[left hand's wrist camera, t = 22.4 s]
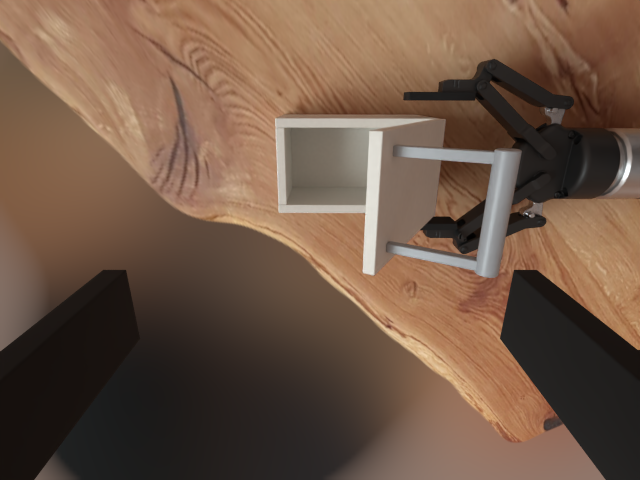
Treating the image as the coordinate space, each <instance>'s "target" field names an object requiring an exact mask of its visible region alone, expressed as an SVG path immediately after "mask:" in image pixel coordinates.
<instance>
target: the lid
mask: <svg viewBox="0 0 640 480" xmlns="http://www.w3.org/2000/svg"><path fill="white" fill-rule="evenodd" d="M445 124H446V119H433V120H427V121H421V122H415V123H410V124H404V125H398V126H392V127H387V128H381V129H375V130H370V131H369V150H368V171H367V192H366V213H365V234H364V255H363V273H365V274H370V275H375V274H376V273H377V272H378V271H379V270H380V269H381V268H382V267H383V266H384V265H385V264H386V263H387V262H388V261H389V260H390V259H391V258H392V257H393V256H394V255H395V254H397V255H402V256H407V257H412V258H417V259H422V260H427V261H431V262H436V263H441V264H446V265H451V266H456V267H461V268H465V269H470V270H475V273H476V274H478V275H480V276H483V277H488V278H493V277H497V276H498V274H499V269H500V264H501V258H502V253H503V248H504V243H505V237H506V232H507V227H508V222H509V217H510V211H511V206H512V201H513V196H514V190H515V185H516V180H517V175H518V169H519V164H520V159H521V154H522V151H521V150H519V149H512V148H497V149H495V150H494V151H491V150H475V149H459V148H443V141H444V132H445ZM441 160H445V161H457V162H470V163H483V164H492V167H491V173H490V180H489V186H488V192H487V198H486V204H485V210H484V216H483V222H482V228H481V234H480V240H479V246H478V252H477V257H472V256H467V255H461V254H456V253H451V252H446V251H440V250H435V249H430V248H425V247H419V246H414V245H409V244H406V243H407V242H408V241H409V240H410V239H411V238H412V237H413V236H414V235H415V234H416V233H417V232H418V231H419V230H420V229H421V228H422V227H423V226H424V225H425V224H426V223H427V222H428V221H429V220H430V219H431V218H432V217H433V216H434V215H435V210H436V201H437V193H438V184H439V175H440V167H441Z"/></svg>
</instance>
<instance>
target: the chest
mask: <svg viewBox="0 0 640 480" xmlns="http://www.w3.org/2000/svg"><path fill="white" fill-rule="evenodd" d="M433 119H439V118H433V117H427V116H422V115H386V114H284V115H282V116H279V117H277V118H275V126H276V151H277V177H278V204H279V213H366V192H367V171H368V150H369V131H370V130H375V129H381V128H387V127H392V126H398V125H404V124H410V123H415V122H421V121H427V120H433Z"/></svg>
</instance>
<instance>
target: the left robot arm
mask: <svg viewBox="0 0 640 480" xmlns="http://www.w3.org/2000/svg"><path fill="white" fill-rule="evenodd" d="M139 339H140V337H139V332H138V327H137V322H136V317H135V312H134V307H133V302H132V297H131V292H130V288H129V283H128V278H127V273H126V270H103V271H101V272H100V273H99V274H98V275H96V276H95V277H94V278H93V279H91V280H90V281H89V282H88V283H86V284H85V285H84V286H83V287H81V288H80V289H79V290H77V291H76V292H75V293H74V294H72V295H71V296H70V297H69V298H67V299H66V300H65V301H64V302H62V303H61V304H60V305H59V306H57V307H56V308H55V309H54V310H52V311H51V312H50V313H48V314H47V315H46V316H45V317H43V318H42V319H41V320H40V321H38V322H37V323H36V324H35V325H33V326H32V327H31V328H30V329H28V330H27V331H26V332H25V333H23V334H22V335H21V336H19V337H18V338H17V339H16V340H14V341H13V342H12V343H11V344H9V345H8V346H7V347H6V348H4V349H3V350H2V351H0V480H34V479H35V478H36V477H37V475H38V474H39V473H40V471H41V470H42V469H43V467H44V466H45V465H46V463H47V462H48V461H49V459H50V458H51V457H52V455H53V454H54V453H55V451H56V450H57V449H58V447H59V446H60V445H61V443H62V442H63V441H64V439H65V438H66V437H67V435H68V434H69V433H70V431H71V430H72V429H73V427H74V426H75V424H76V423H77V422H78V421H79V419H80V418H81V417H82V415H83V414H84V412H85V411H86V410H87V408H88V407H89V406H90V405H91V403H92V402H93V401H94V399H95V398H96V396H97V395H98V394H99V392H100V391H101V390H102V389H103V387H104V386H105V384H106V383H107V382H108V380H109V379H110V378H111V377H112V375H113V374H114V372H115V371H116V370H117V368H118V367H119V366H120V364H121V363H122V362H123V360H124V359H125V358H126V356H127V355H128V354H129V352H130V351H131V350H132V348H133V347H134V346H135V344H136V343H137V342H138V340H139ZM500 339H501V340H502V342H503V343H504V344H505V346H506V347H507V348H508V350H509V351H510V352H511V354H512V355H513V356H514V358H515V359H516V360H517V362H518V363H519V365H520V366H521V367H522V369H523V370H524V371H525V373H526V374H527V375H528V377H529V378H530V379H531V381H532V382H533V383H534V385H535V386H536V387H537V389H538V390H539V391H540V393H541V394H542V395H543V397H544V398H545V399H546V401H547V402H548V403H549V405H550V406H551V407H552V409H553V410H554V411H555V413H556V414H557V415H558V417H559V418H560V419H561V421H562V422H563V423H564V425H565V426H566V427H567V429H568V430H569V431H570V433H571V434H572V435H573V437H574V438H575V439H576V441H577V442H578V443H579V445H580V446H581V447H582V449H583V450H584V451H585V453H586V454H587V455H588V457H589V458H590V459H591V460H592V462H593V463H594V465H595V466H596V467H597V469H598V470H599V471H600V473H601V474H602V475H603V477H604V478H605V479H606V480H640V350H637V349H636V348H634V347H633V346H632V345H631V344H629V343H628V342H627V341H626V340H624V339H623V338H622V337H621V336H619V335H618V334H617V333H615V332H614V331H613V330H612V329H610V328H609V327H608V326H607V325H605V324H604V323H603V322H602V321H600V320H599V319H598V318H597V317H595V316H594V315H593V314H592V313H590V312H589V311H588V310H586V309H585V308H584V307H583V306H581V305H580V304H579V303H578V302H576V301H575V300H574V299H573V298H571V297H570V296H569V295H568V294H566V293H565V292H564V291H563V290H561V289H560V288H559V287H557V286H556V285H555V284H554V283H552V282H551V281H550V280H549V279H547V278H546V277H545V276H544V275H542V274H541V273H540V272H539V271H537V270H514V273H513V278H512V283H511V287H510V292H509V297H508V302H507V307H506V312H505V317H504V322H503V327H502V332H501V337H500Z"/></svg>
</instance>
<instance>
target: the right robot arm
mask: <svg viewBox="0 0 640 480" xmlns="http://www.w3.org/2000/svg"><path fill="white" fill-rule="evenodd" d="M490 81H492V82H494V83H496V84H497V85H499V86H501V87H503V88H504V89H506V90H508V91H509V92H511V93H513V94H514V95H516V96H518V97H519V98H521V99H523V100H524V101H526V102H528V103H530V104H532V105H534V106H537V107H541V108H540V109H539V111H540V113H541V114H542V115H543V116H545V117H546V119H547V123H545V124H543V125H541V126H539V127H538V128H536V129H534V128H533V127H532V126H531V125H529V124H528V123H527V122H526V121H525V120H524V119H523V118H522V117H521V116H520V115H519V114H518V113H517V112H516V111H515V110H514V109H513V107H512V106H511V105H510V104H509V103H508V102H507V101H506V100H505V99H504V98H503V97H502V96H501V95H500V94H499V92H498V91H497V90H496V89H495V88H494V87H493V86H492V85H491V84H490ZM475 98H476V99H477V100H478V101H479V102H480V103H481V104H482V105H483V106H484V107H485V108H486V109H487V111H488V112H489V113H490V114H491V115H492V116H493V117H494V118H495V119H496V120H497V121H498V122H499V123H500V124H501V125H502V126H503V127H504V128H505V129H506V130H507V133H508V134H509V135H510V136H511V137H512V138H513V139H514V140H515V142H516V143H515V144H514V145H513V147H512V149H519V150H521V151H522V154H521V159H520V164H519V169H518V175H517V180H516V185H515V189H516V190H514V196H513V201H512V205H513V204H517V203H519V202H520V201H522V200H523V199H525V198H527V199H528V200H530V203H529V204H528V205H527V206H526V207H523V208H520V209H519V212H515V213H512V214H510V217H509V222H508V227H507V232H506V237H507V236H509V235H511V234H514V233H516V232H518V231H521V230H523V229H525V228H535V227H542V226H544V225H545V224H546V218H544V217H543V216H542V208H543V202H545V201H547V200H550V199H592V198H596V199H640V128H607V129H603V128H565V127H563V126H562V125H561V121H562V118H563V115H564V112H565V109H569V108H571V107H572V106H573V104H574V99H573V98H572V97H570V96H562V95H554V94H552V93H550V92H549V91H547V90H545V89H544V88H542V87H540V86H539V85H537V84H536V83H534V82H532V81H531V80H529V79H527V78H526V77H524V76H522V75H521V74H519V73H517V72H516V71H514V70H512V69H511V68H509V67H507V66H506V65H504V64H503V63H501V62H499V61H498V60H495V59H493V60H488V61H483V62H481V63H479V64H478V66H477V72H476V74H475V76H474V77H473V78H472V79H471V80H444V81H441V82H439V89H438V92H404V99H403V100H475ZM485 204H486V199H485V200H484V201H483V202H481V203H480V204H478V205H477V206H476V207H474V208H473V209H471V210H470V211H469V212H467V213H466V214H465V215H463V216H462V217H460V218H459V219H458V220H456V221H454V220H453V219H452V218H451V217H432V218H431V219H430V220H429V221H428V222H427V223H426V224H425V225H424V226H423V227H422V228H421V229H420V230H423V233H424V234H425V235H426V236H427V237H430V238H453V244H454V246H455V247H456V248H457V249H458V250H459V251H460V252H461V253H462V254H467V253H469V252H471V251H474V250H476V249H478V246H479V240H480V234H481V228H482V222H483V216H484V210H485Z"/></svg>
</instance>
